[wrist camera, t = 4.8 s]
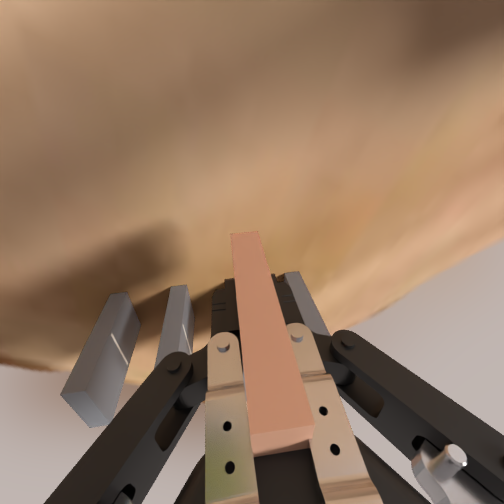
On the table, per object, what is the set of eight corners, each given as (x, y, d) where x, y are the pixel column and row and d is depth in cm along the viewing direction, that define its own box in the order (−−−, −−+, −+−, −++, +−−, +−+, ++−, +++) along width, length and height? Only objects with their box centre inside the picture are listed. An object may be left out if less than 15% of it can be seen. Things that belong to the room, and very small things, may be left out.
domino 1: (126, 291, 25) (85, 390, 17) (141, 325, 28) (111, 424, 20) (110, 293, 25) (59, 394, 17) (126, 327, 28) (89, 427, 19)
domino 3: (258, 231, 14) (315, 424, 6) (260, 294, 17) (301, 488, 9) (230, 233, 14) (249, 434, 6) (236, 297, 17) (256, 496, 9)
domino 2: (186, 284, 26) (175, 377, 17) (194, 317, 28) (188, 411, 20) (170, 286, 26) (151, 380, 17) (180, 319, 28) (167, 414, 20)
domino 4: (299, 271, 27) (338, 351, 18) (296, 304, 30) (329, 387, 21) (284, 273, 27) (317, 355, 18) (283, 306, 29) (311, 390, 21)
